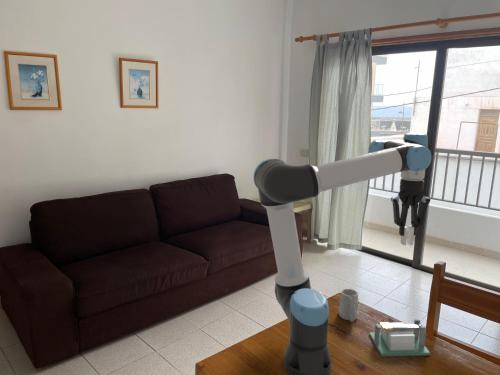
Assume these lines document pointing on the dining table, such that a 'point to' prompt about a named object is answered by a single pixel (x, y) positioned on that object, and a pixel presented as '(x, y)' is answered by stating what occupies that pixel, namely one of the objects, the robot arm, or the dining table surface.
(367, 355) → the dining table surface
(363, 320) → the dining table surface
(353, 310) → the white cup
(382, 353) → the heatsink board
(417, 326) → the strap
